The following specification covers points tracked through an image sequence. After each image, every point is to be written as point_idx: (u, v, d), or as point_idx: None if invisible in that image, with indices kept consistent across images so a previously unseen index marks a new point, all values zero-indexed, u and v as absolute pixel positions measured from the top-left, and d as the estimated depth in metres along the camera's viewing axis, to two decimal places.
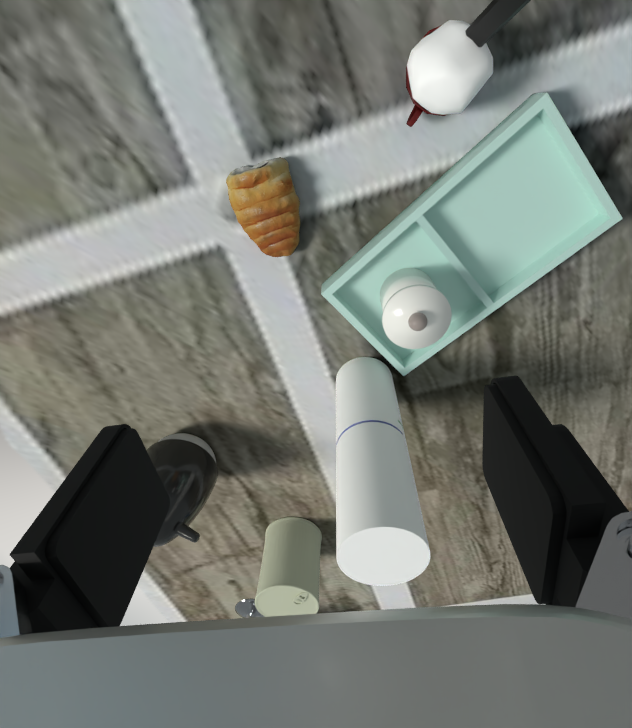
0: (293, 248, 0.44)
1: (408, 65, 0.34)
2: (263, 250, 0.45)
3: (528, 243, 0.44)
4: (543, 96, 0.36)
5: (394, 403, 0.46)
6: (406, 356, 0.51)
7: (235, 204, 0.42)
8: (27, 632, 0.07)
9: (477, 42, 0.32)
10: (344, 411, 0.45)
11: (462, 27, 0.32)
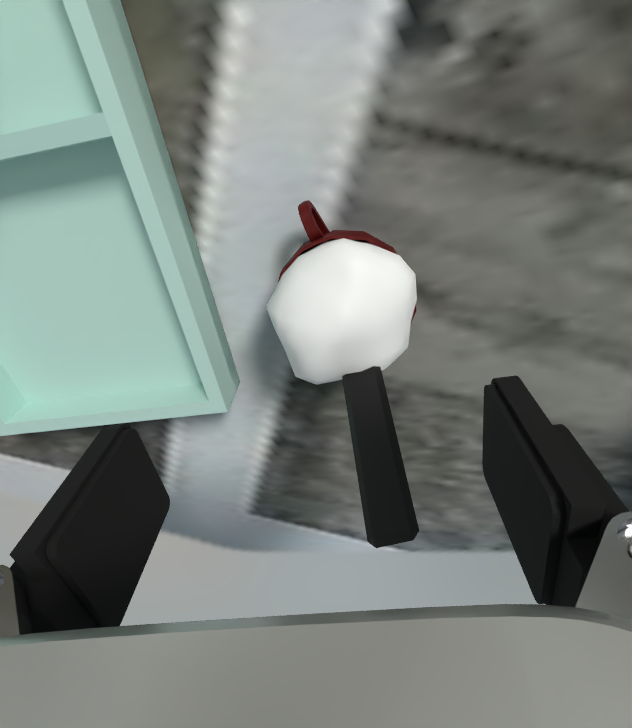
0: None
1: (398, 258, 0.17)
2: None
3: (1, 300, 0.23)
4: (224, 406, 0.23)
5: None
6: None
7: None
8: (27, 632, 0.07)
9: (352, 378, 0.18)
10: None
11: (386, 363, 0.18)
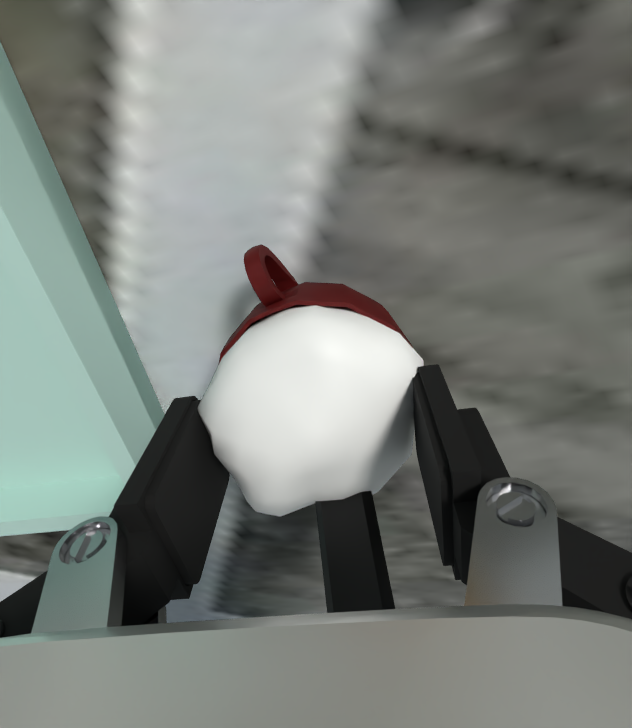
0: None
1: (397, 339, 0.11)
2: None
3: None
4: None
5: None
6: None
7: None
8: (118, 594, 0.07)
9: (330, 509, 0.12)
10: None
11: (381, 484, 0.12)
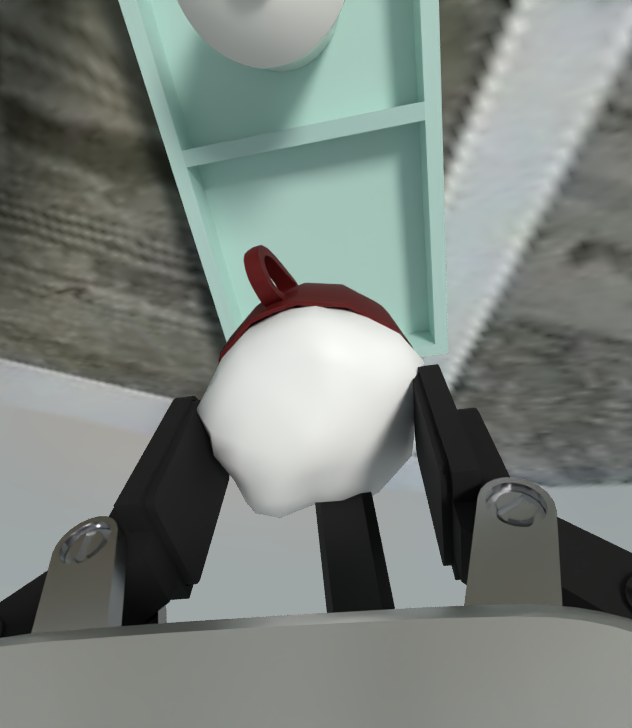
0: None
1: (398, 339, 0.11)
2: None
3: None
4: (447, 348, 0.27)
5: None
6: None
7: None
8: (118, 593, 0.07)
9: (330, 511, 0.12)
10: None
11: (381, 485, 0.12)
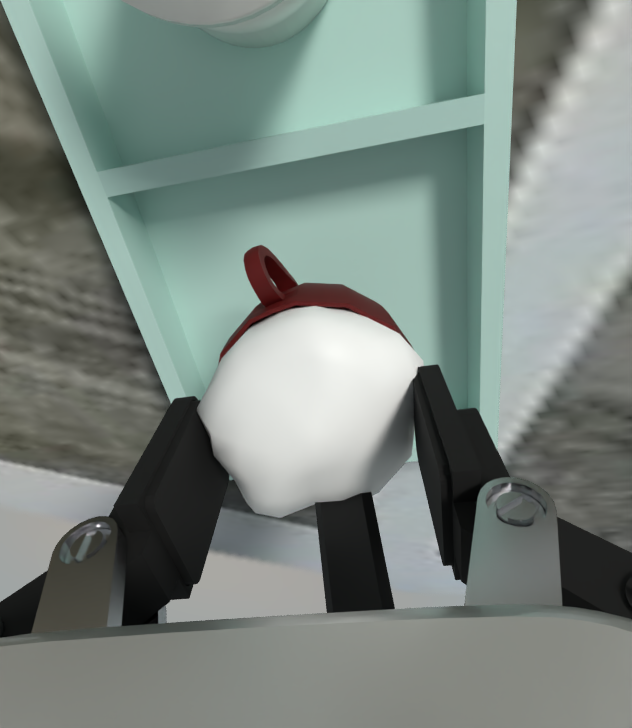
0: None
1: (397, 339, 0.11)
2: None
3: (230, 325, 0.19)
4: (495, 446, 0.19)
5: None
6: None
7: None
8: (118, 593, 0.07)
9: (330, 511, 0.12)
10: None
11: (381, 485, 0.12)
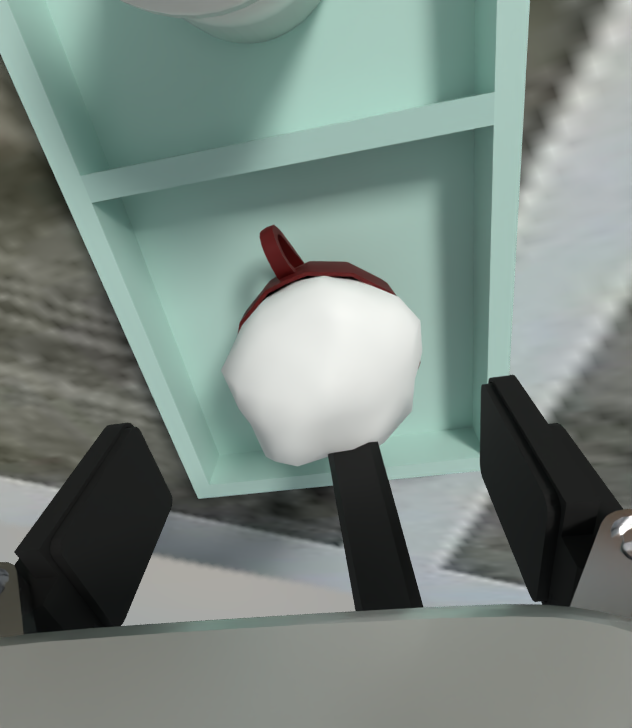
0: None
1: (397, 301, 0.12)
2: None
3: (224, 335, 0.18)
4: None
5: None
6: None
7: None
8: (31, 630, 0.07)
9: (342, 459, 0.13)
10: None
11: (386, 435, 0.14)
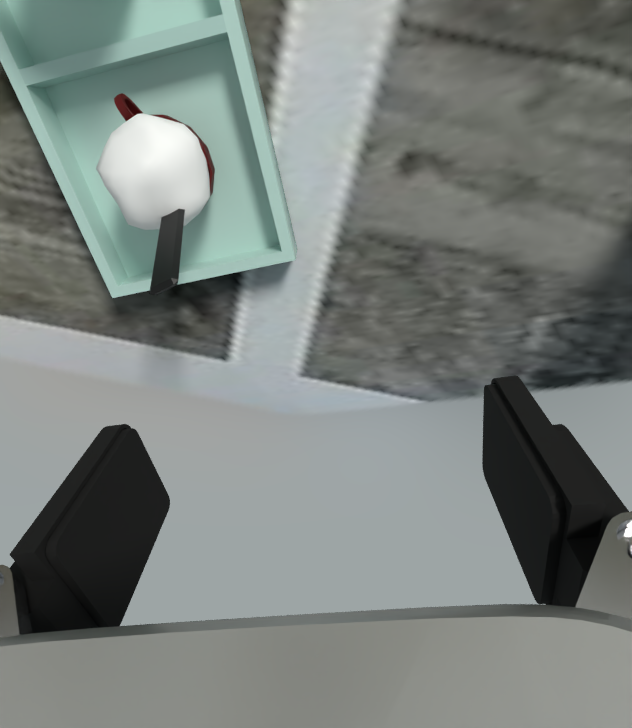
0: None
1: (182, 125, 0.24)
2: None
3: None
4: (293, 255, 0.30)
5: None
6: None
7: None
8: (27, 632, 0.07)
9: (164, 217, 0.25)
10: None
11: (190, 208, 0.26)
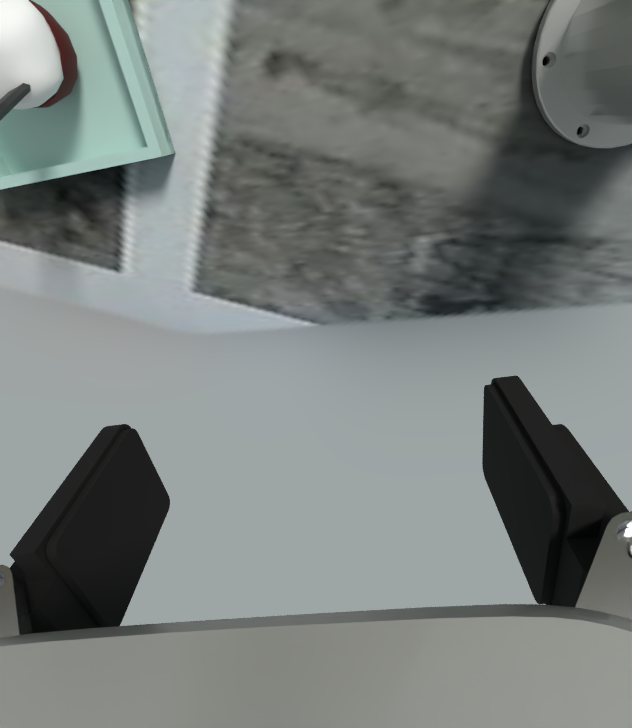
0: None
1: None
2: None
3: None
4: (159, 151, 0.31)
5: None
6: None
7: None
8: (27, 632, 0.07)
9: (9, 91, 0.26)
10: None
11: (36, 84, 0.26)
